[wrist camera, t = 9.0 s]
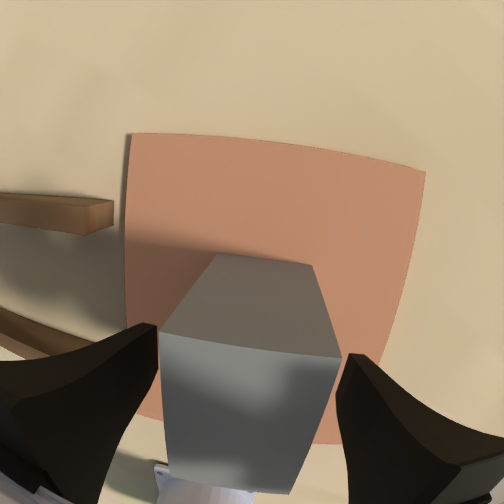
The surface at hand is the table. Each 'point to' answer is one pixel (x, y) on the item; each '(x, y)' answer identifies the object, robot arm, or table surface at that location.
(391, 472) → the robot arm
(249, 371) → the blank block
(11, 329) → the frame
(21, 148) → the table surface
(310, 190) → the mat
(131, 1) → the table surface
